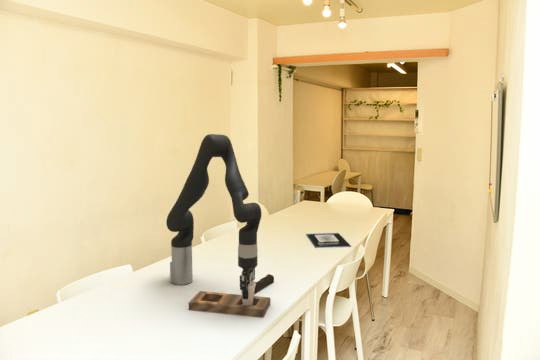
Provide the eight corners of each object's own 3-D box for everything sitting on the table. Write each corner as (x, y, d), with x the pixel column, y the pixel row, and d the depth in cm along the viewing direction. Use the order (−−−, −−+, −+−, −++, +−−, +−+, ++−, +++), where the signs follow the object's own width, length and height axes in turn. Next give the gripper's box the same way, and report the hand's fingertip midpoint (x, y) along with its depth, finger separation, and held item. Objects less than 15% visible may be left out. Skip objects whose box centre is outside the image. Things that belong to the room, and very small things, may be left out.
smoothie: (255, 303, 178) (256, 269, 176) (255, 310, 172) (256, 275, 170) (239, 303, 178) (239, 269, 176) (239, 310, 172) (239, 275, 170)
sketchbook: (315, 249, 259) (315, 245, 259) (305, 236, 289) (305, 232, 288) (351, 247, 261) (351, 244, 261) (338, 234, 291) (338, 231, 290)
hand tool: (266, 281, 205) (266, 271, 205) (274, 283, 203) (274, 273, 203) (243, 295, 189) (243, 284, 189) (251, 297, 187) (251, 286, 187)
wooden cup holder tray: (188, 309, 174) (188, 301, 174) (200, 297, 186) (200, 290, 185) (263, 317, 167) (263, 309, 167) (270, 304, 179) (270, 297, 179)
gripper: (243, 248, 180) (243, 288, 182) (232, 259, 166) (232, 301, 168) (261, 249, 178) (261, 289, 180) (252, 260, 164) (252, 303, 166)
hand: (247, 295), depth 174 cm, fingers closed on smoothie, 6 cm apart
